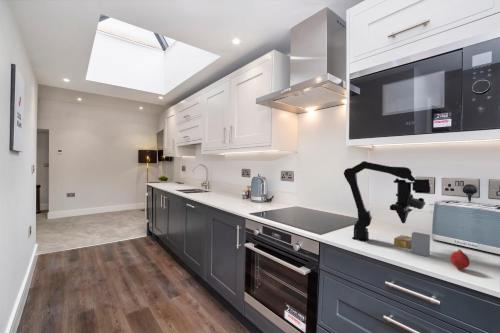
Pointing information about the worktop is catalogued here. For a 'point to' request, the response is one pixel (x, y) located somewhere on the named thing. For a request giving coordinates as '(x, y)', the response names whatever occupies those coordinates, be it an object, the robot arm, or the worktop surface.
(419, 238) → the grey block
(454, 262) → the onion
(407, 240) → the walnut block
